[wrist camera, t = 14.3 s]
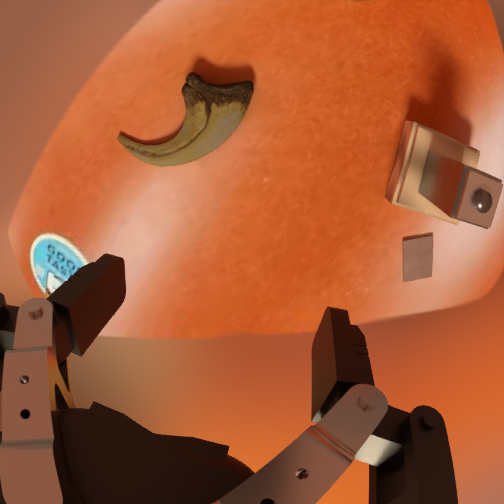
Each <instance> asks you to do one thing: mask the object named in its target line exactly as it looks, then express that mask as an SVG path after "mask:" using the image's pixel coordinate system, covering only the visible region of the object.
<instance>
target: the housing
mask: <svg viewBox="0 0 504 504" xmlns="http://www.w3.org/2000/svg"><path fill="white" fill-rule="evenodd" d="M501 182H502V180H500V179H498V178H496V177H494V176H492V175H489V174H487V173H485V172H483V171H480V170H478V169H476V168H473V167H471V166H468V165H466V164H463V163H461V162H458V161H456V160H453V159H450V158H448V157H445V156H442V155H439V154H436V153H434V152H431V151H428V153H427V157H426V162H425V166H424V170H423V175H422V179H421V183H420V187H419V190H418V193H419V194H421V195H422V196H423V197H425V198H426V199H427V200H429V201H430V202H431V203H432V204H434V205H435V206H436V207H438V208H439V209H440V210H441V211H443V212H444V213H445V214H446V215H448V216H449V217H450V218H454V219H457V220H460V221H464V222H467V223H470V224H473V225H476V226H480V227H483V228H486V229H488V228H490V227H491V224H492V221H493V218H494V215H495V211H496V208H497V205H498V201H499V198H500V194H501V191H502V187H503V184H501Z"/></svg>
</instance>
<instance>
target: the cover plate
mask: <svg viewBox="0 0 504 504" xmlns="http://www.w3.org/2000/svg"><path fill="white" fill-rule="evenodd" d="M402 246H403V282H408V281H413V280H418V279H423V278H428V277H432V261H433V235H428V236H422V237H416V238H410V239H404V240H402Z"/></svg>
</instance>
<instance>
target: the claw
mask: <svg viewBox="0 0 504 504" xmlns="http://www.w3.org/2000/svg"><path fill="white" fill-rule="evenodd" d="M186 81H187V83H185V84H184V86H183V87H182V94H183V96H184V100H185V106H186V118H185V121H184V124H183V126H182V128H181V130H180V131H179V133H178V134H177V136H176V137H174V138H173V139H171V140H170V141H167V142H165V143H162V144H158V145H144V144H140V143H137V142H135V141H133V140H131V139H128V138H126V137H124V136H122V135H119V136H118V140H119V142H120V143H121V144H122V145H123V146H124V147H125V148H126V149H127V150H128V151H129V152H130V153H131V154H132V155H134V156H135V157H136V158H138V159H140V160H141V161H143V162H146V163H149V164H153V165H157V166H176V165H182V164H186V163H189V162H192V161H195V160H197V159H199V158H201V157H203V156H205V155H207V154H209V153H210V152H212V151H213V150H215V149H216V148H218V147H219V146H220V145H221V144H222V143H223V142H225V141H226V140H227V139H228V138H229V137H230V135H231V134H232V133H233V132H234V131H235V129H236V128H237V127H238V125H239V124H240V123H241V121H242V119H243V117H244V115H245V113H246V111H247V108H248V106H249V103H250V100H251V97H252V94H253V89H254V88H253V84H252V82H251V81H244V82H240V83H231V84H225V85H214V84H208V83H206V82H204V81H203V80H202V79H201V78H200V76H199V75H198V74H196V73H194V72H191V73H190V74H189V75H188V76H187V78H186Z"/></svg>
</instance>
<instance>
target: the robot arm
mask: <svg viewBox="0 0 504 504" xmlns="http://www.w3.org/2000/svg"><path fill="white" fill-rule="evenodd" d="M125 295H126V282H125V264H124V259H123V258H121V257H118V256H114V255H110V254H104V255H102V256H101V257H100V258H99V259H98V260H97V261H96V262H92V263H89V264H87V265H85V266H83V267H81V268H80V269H79V270H78V271H76V272H75V273H74V275H72V276H71V277H70V278H69V279H68V281H65V282H64V283H63V284H62V285H61V286H60V287H59V288H58V289H56V290H55V291H54V292H53V293H52V294H51V295H50V296H49V297H48V298H47V299H43V298H34V299H30V300H28V301H26V302H25V303H23V304H22V305H21V307H17V306H10V305H7V304H6V300H5V297H4V295H3V294H2V293H0V391H1V390H2V408H1V411H2V414H1V415H2V431H1V432H0V504H315V503H316V502H317V501H318V500H319V499H320V498H321V497H322V496H323V495H324V494H325V493H326V492H327V491H328V490H329V489H330V488H331V486H332V485H333V484H334V483H335V482H336V481H337V480H338V479H339V477H340V476H341V475H342V474H343V473H344V472H345V470H346V469H347V468H348V467H349V465H350V464H351V463H352V462H353V460H354V459H356V460H359V461H362V462H365V463H368V464H369V504H458V498H457V490H456V483H455V475H454V469H453V462H452V456H451V452H450V446H449V441H448V436H447V431H446V427H445V422H444V420H443V417H442V416H441V414H440V413H439V412H438V411H437V410H435V409H434V408H432V407H429V406H424V405H422V406H418V407H416V408H414V410H413V411H412V412H411V413H408V412H405V411H402V410H400V409H397V408H394V407H391V406H390V405H388V402H387V399H386V397H385V395H384V394H383V393H382V392H381V391H380V390H379V389H378V388H376V387H375V386H374V380H373V374H372V369H371V364H370V359H369V357H368V350H367V348H366V346H367V345H366V341H365V336H364V334H363V333H362V332H361V330H360V329H359V327H358V326H356V325H351V324H350V320H349V315H348V311H347V310H343V309H338V308H333V307H327V308H326V310H325V313H324V315H323V318H322V320H321V323H320V325H319V328H318V330H317V333H316V335H315V338H314V341H313V345H312V415H311V416H312V417H311V421H312V422H318V423H317V424H316V425H314V426H310V427H309V428H308V429H307V430H305V431H304V432H303V433H302V434H301V435H300V436H299V437H298V438H297V439H295V440H294V441H293V442H292V443H291V444H290V445H289V446H288V447H286V448H285V449H284V450H283V451H282V452H281V453H280V454H278V455H277V456H276V457H275V458H274V459H272V460H271V461H270V462H269V463H268V464H266V465H265V466H264V467H263V468H261V469H260V470H259V471H257V472H256V473H254V472H253V471H252V470H251V469H250V468H249V467H248V466H246V465H245V464H243V463H242V462H241V461H239V460H237V459H236V458H234V457H232V456H230V455H227V454H228V450H229V446H226V445H222V444H218V443H214V442H210V441H206V440H202V439H198V438H194V437H183V436H171V435H161V434H155V433H152V432H150V431H149V430H147V429H146V428H144V427H142V426H141V425H139V424H138V423H136V422H135V421H133V420H132V419H130V418H129V417H128V416H126V415H125V414H123V413H120V412H118V411H115V410H113V409H111V408H108V407H106V406H104V405H101V404H99V403H97V402H93V404H92V405H91V407H90V409H85V408H76V406H75V403H74V398H73V392H72V384H71V376H70V366H69V359H68V355H69V354H70V353H71V352H72V353H74V354H76V355H79V356H82V355H83V354H84V353H85V351H86V350H87V348H88V347H89V346H90V345H91V343H92V342H93V341H94V339H95V338H96V337H97V336H98V334H99V333H100V332H101V330H102V329H103V328H104V326H105V325H106V324H107V323H108V321H109V320H110V319H111V318H112V316H113V315H114V314H115V312H116V311H117V310H118V309H119V307H120V306H121V305H122V303H123V301H124V299H125Z"/></svg>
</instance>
